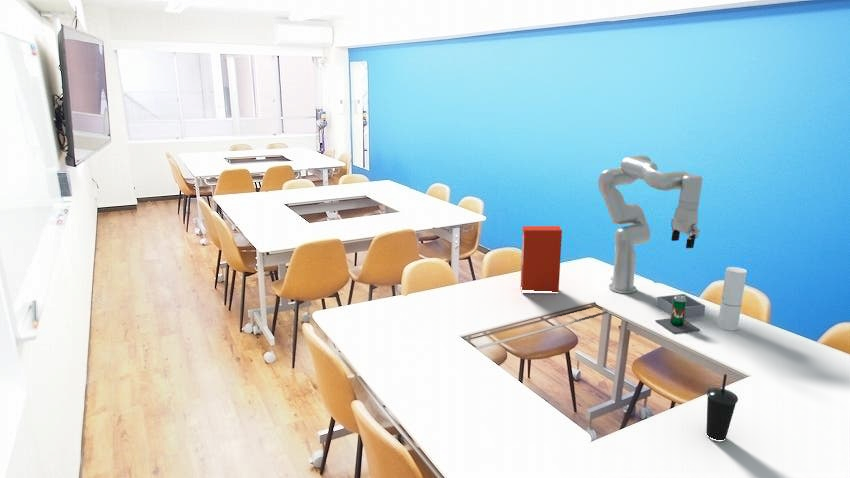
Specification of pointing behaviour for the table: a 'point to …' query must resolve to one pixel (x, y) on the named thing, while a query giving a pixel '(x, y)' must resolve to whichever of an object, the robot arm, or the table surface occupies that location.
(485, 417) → the table surface
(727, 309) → the cylindrical container
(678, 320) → the soda can
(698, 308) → the grey bin
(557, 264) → the file binder
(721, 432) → the drinking cup
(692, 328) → the mat
